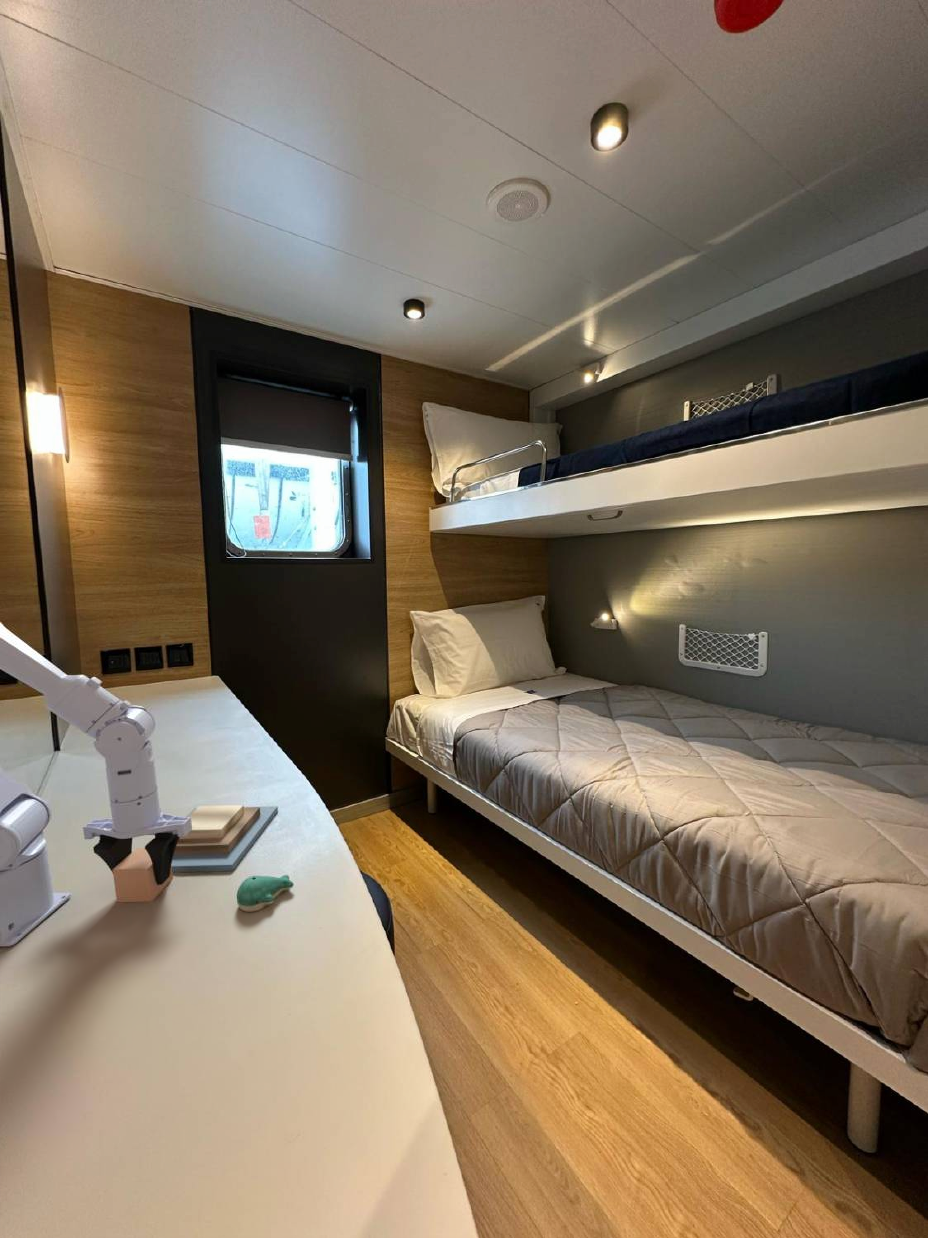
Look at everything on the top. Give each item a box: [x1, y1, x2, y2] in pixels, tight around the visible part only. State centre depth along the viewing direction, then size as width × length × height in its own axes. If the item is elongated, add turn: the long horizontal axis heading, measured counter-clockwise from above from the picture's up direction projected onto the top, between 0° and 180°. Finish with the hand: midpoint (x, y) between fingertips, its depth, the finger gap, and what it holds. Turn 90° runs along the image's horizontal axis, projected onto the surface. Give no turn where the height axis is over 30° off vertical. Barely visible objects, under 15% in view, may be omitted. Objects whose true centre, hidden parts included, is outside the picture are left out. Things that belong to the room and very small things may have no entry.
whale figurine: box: [236, 874, 294, 913], centre depth 69 cm, size 6×7×4 cm
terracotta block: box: [112, 847, 174, 903], centre depth 71 cm, size 5×5×5 cm
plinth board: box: [171, 804, 279, 873], centre depth 84 cm, size 18×16×4 cm
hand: (144, 881), depth 72 cm, fingers closed on terracotta block, 5 cm apart
